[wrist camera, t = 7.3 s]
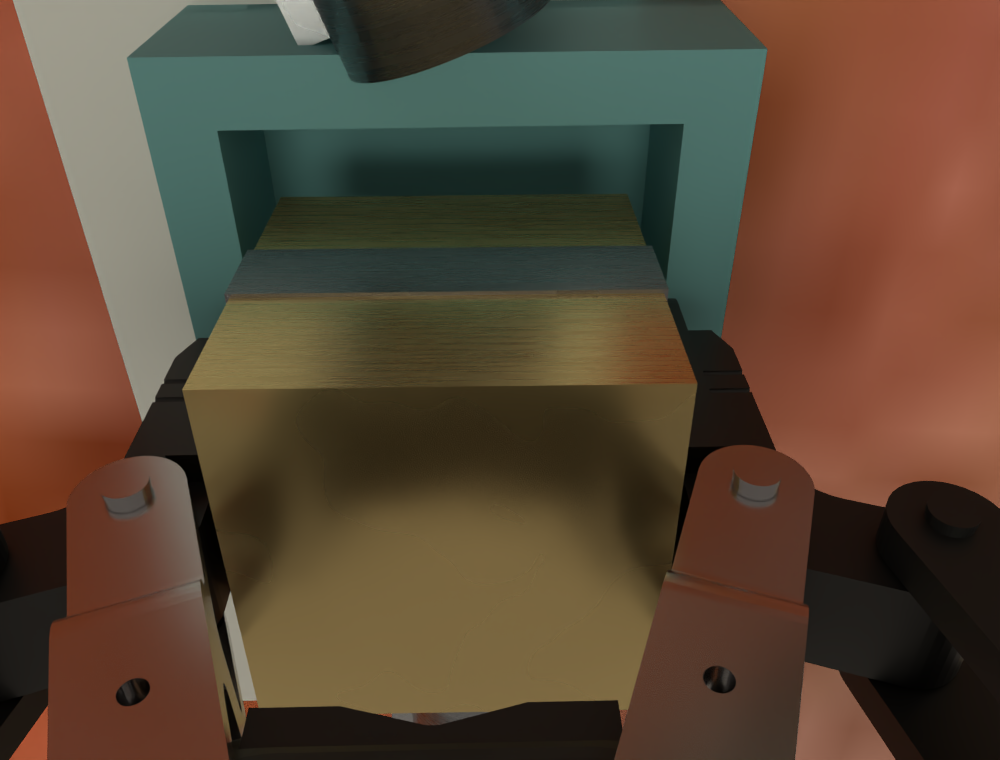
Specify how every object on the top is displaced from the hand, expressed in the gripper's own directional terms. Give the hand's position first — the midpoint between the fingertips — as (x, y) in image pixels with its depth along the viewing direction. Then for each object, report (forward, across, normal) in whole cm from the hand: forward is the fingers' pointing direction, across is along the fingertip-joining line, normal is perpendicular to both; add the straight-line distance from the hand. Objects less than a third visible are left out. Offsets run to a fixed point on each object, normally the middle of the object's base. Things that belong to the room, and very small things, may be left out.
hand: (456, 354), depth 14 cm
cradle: (+4, 0, 0) cm, 4 cm away
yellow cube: (+1, 0, 0) cm, 1 cm away
